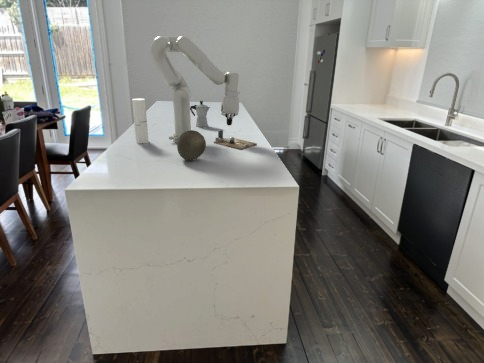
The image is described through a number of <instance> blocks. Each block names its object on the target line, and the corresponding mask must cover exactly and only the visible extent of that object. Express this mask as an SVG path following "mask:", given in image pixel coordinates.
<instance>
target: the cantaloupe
mask: <svg viewBox="0 0 484 363" xmlns="http://www.w3.org/2000/svg"><path fill="white" fill-rule="evenodd" d="M206 141H207V140H206V139H205V137H204V136H203V135H202V134H201V132H200V131H197V130H194V129H191V130H189V131H186V132H184V133H182V134H181V135H180V137H179V139H178V142H176V144H177V145H176V149H177V153H178V155H179V156H180V157H181V158H182V159H184V160H185V161H188V162H189V161H190V162H191V161H195V160H197V159H198V158H199V157H201V156H202V155H203V154H204V152H205V151H206V147H207V142H206Z"/></svg>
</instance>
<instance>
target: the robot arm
mask: <svg viewBox="0 0 484 363" xmlns="http://www.w3.org/2000/svg"><path fill="white" fill-rule="evenodd" d="M167 53H181V54H182V55H183V56H184V57H185V58H187V59H188V61H190V62H191V63H192V64H193V65H194V66H195V67H196V68H197V70H199V71H200V72H201V73H202V74H203V75H205V77H207V78H208V79H209V80H210V81H211V82H212V83H213V84H214V85H217V86H221V85H224V95H223V96H222V99H221V104H220V112H221V113H220V115H221V116H224V117H225V118H226V125H227V126H232V124H233V119H234V117H235V116H236V117H237V116H239V111H240V100H239V96H238V95H240V93H241V92H239V81H240V80H239V76H240V74H239V72H237V71H226V70H222V69H221V70H220V69H219V68H218V67H217V66H216V65H215V64H214V63H213V62H212V61H211V60H210V58H209V57H208V56H207V54H206V53H205V52H204V51H203V50H202V49H200V47H199V46H198V45H196V44H195V43H194V42H193V41H192V39H191V38H190V37H188V36H187V35H181V36H167V35H166V36H165V35H159V36H157V37H155V38H154V40H152V43H151V45H150V57H151V60H152V62H153V64H154V65H155V67H156V70H157V71H158V73H159V74H160V76H161V78H162V80H163V82H164V84H166V86H168V87H170V88H171V90H172V91H173V93H172V105H173V117H174V133H173V134H172V136H169V137H168V139H169V141H171V140H172V142H174V143H177V142H178V139H179V137H180V135H181V134H182V133H184V132H186V131H189V130H192V125H191V124H192V122H191V120H192V118H191V117H192V116H191V110H190V107H191V105H190V104H191V103H190V102H191V101H190V100H191V97H192V91H191V89H190V87H189V85H188V84H187V82H186V80H185V78H184V76H183V75H182V73H181V72H180V71H179V70H178V69H176V68H175V67H174V65H173V63H172V61H171V60H170V58H169V56H168V54H167Z"/></svg>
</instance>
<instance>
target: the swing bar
mask: <svg viewBox="0 0 484 363" xmlns="http://www.w3.org/2000/svg"><path fill="white" fill-rule="evenodd" d="M217 133H218V134H217V136H218V137H217V138H221V141H224V142H229V143H234V138H235V136H230V137H231V138H230V137H229V138H230V139H226V138H227V137H226V138H225V137H224V130H223V129H218V130H217Z"/></svg>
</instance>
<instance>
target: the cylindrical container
mask: <svg viewBox="0 0 484 363" xmlns="http://www.w3.org/2000/svg"><path fill="white" fill-rule="evenodd" d="M131 102H132V111H133V112H132V113H133V114H132V115H133V123H134V132H135V142H136V144H140V143H143V144H147V142H148V143H149V132H148V119H147V117H148V116H147V108H146V107H147V105H146V98H138V97H137V98H132V99H131Z"/></svg>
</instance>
